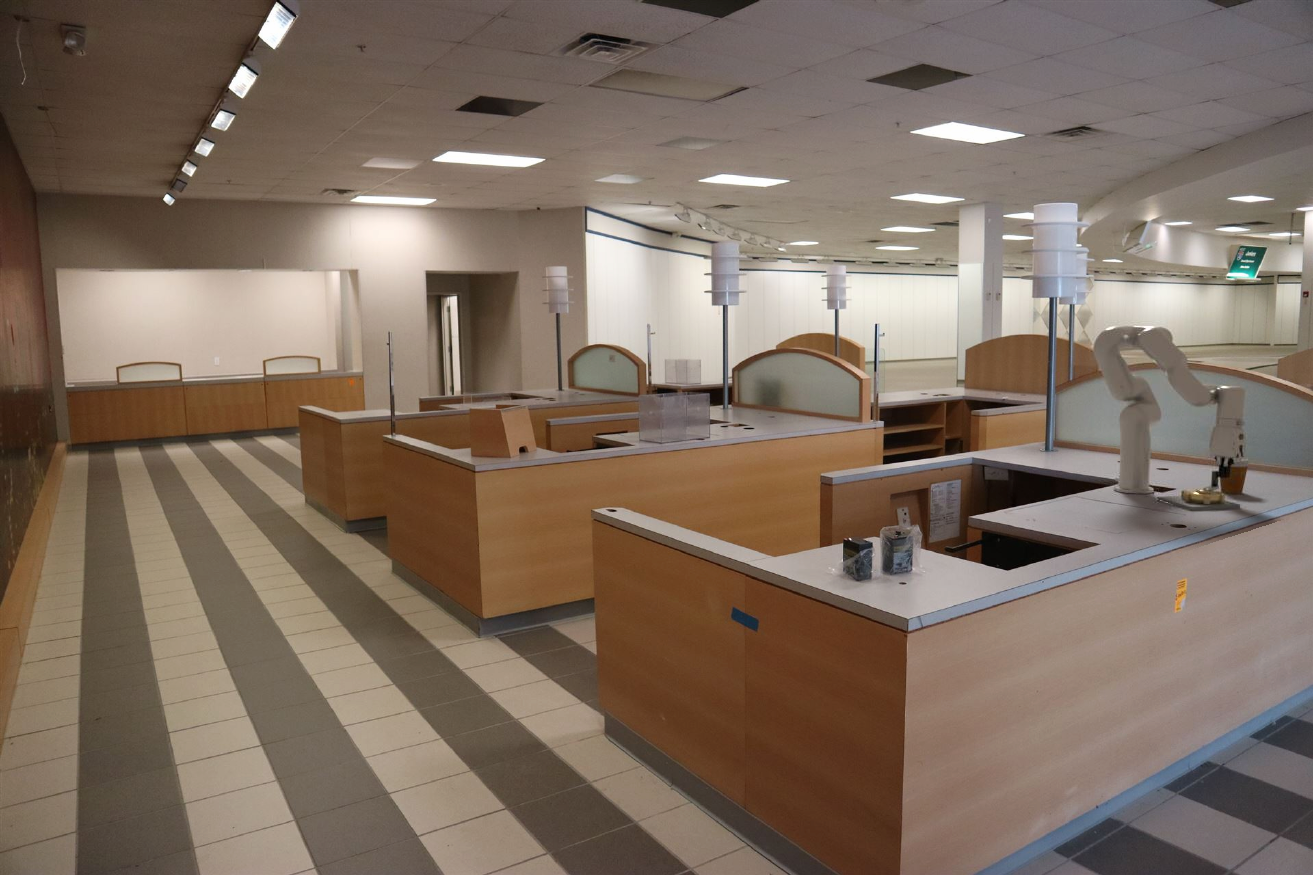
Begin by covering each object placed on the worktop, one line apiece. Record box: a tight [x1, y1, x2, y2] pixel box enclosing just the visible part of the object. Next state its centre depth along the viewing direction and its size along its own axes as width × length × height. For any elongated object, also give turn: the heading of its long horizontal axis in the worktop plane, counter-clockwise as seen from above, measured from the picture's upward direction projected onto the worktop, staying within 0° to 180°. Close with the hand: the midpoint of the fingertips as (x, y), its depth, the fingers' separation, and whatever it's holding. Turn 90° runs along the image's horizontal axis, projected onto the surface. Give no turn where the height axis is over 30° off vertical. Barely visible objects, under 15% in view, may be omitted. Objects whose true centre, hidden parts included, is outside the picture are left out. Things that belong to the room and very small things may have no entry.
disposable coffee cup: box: [1219, 457, 1250, 495], centre depth 314 cm, size 10×10×12 cm
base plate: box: [1156, 495, 1241, 512], centre depth 298 cm, size 17×17×1 cm
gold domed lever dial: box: [1180, 470, 1226, 504], centre depth 298 cm, size 17×12×9 cm
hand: (1223, 477), depth 299 cm, fingers closed
